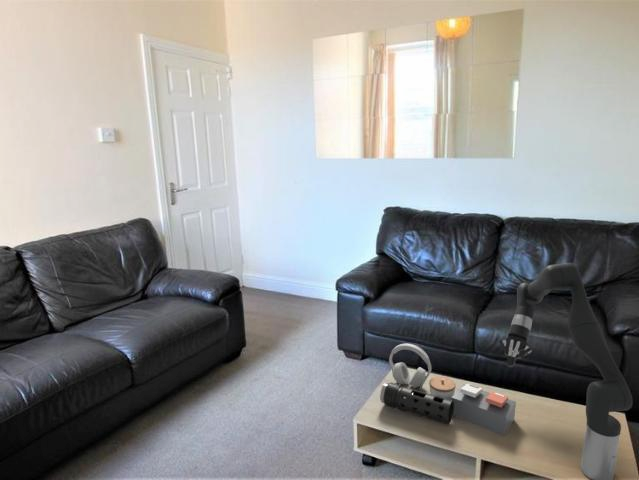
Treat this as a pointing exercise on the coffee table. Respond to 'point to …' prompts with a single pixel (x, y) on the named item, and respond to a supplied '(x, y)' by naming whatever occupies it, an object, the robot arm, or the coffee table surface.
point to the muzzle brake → (417, 402)
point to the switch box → (484, 411)
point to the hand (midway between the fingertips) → (509, 366)
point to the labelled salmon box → (496, 399)
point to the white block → (471, 390)
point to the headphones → (401, 369)
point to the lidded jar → (442, 387)
